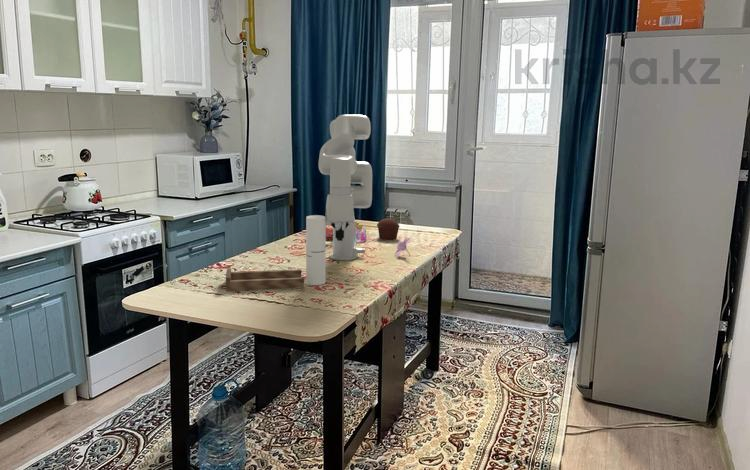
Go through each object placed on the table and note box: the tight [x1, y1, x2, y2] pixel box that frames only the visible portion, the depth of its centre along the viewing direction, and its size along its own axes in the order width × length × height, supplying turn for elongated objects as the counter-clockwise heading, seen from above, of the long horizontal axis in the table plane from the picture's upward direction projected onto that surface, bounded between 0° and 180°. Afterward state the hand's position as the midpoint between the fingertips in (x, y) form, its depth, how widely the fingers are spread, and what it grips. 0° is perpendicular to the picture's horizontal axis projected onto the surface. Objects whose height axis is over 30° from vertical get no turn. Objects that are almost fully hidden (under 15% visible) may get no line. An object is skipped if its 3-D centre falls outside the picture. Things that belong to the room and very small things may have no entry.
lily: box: [394, 236, 412, 259], centre depth 252 cm, size 11×11×9 cm
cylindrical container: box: [305, 214, 327, 286], centre depth 209 cm, size 7×7×25 cm
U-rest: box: [225, 267, 305, 292], centre depth 208 cm, size 28×12×5 cm, turn 102°
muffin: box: [376, 217, 400, 241], centre depth 284 cm, size 12×11×10 cm
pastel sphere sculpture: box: [326, 220, 368, 247], centre depth 278 cm, size 25×24×9 cm
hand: (339, 240), depth 210 cm, fingers closed
